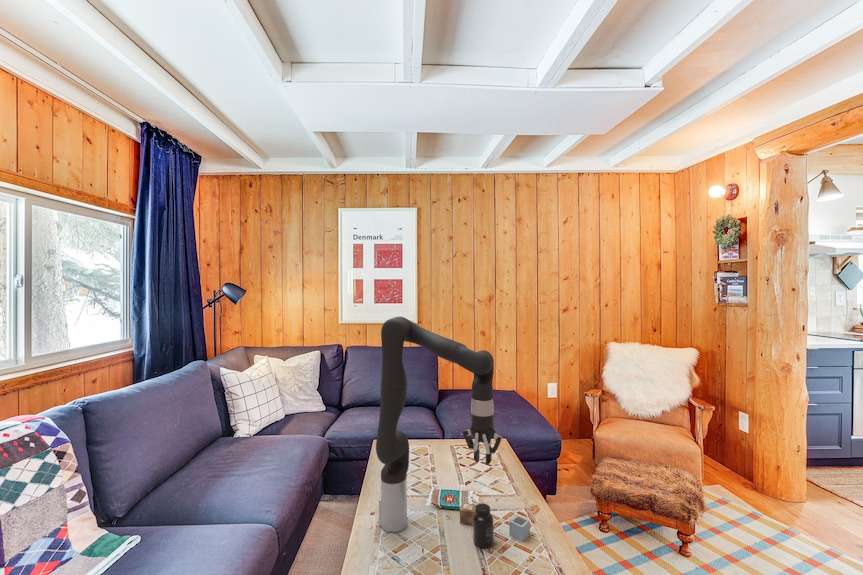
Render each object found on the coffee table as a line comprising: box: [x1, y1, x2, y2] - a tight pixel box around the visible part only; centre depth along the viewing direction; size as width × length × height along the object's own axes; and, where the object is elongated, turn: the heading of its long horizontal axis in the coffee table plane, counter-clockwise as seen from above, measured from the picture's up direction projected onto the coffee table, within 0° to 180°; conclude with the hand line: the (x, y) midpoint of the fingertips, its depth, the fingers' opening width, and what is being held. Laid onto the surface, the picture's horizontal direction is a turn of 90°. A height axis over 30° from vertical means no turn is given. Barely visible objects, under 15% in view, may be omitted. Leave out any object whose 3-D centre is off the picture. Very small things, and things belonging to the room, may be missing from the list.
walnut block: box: [459, 502, 477, 526], centre depth 146 cm, size 5×5×5 cm
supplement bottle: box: [472, 502, 495, 549], centre depth 134 cm, size 7×7×12 cm
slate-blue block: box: [509, 514, 531, 543], centre depth 137 cm, size 5×5×5 cm
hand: (482, 462), depth 133 cm, fingers open, 3 cm apart
